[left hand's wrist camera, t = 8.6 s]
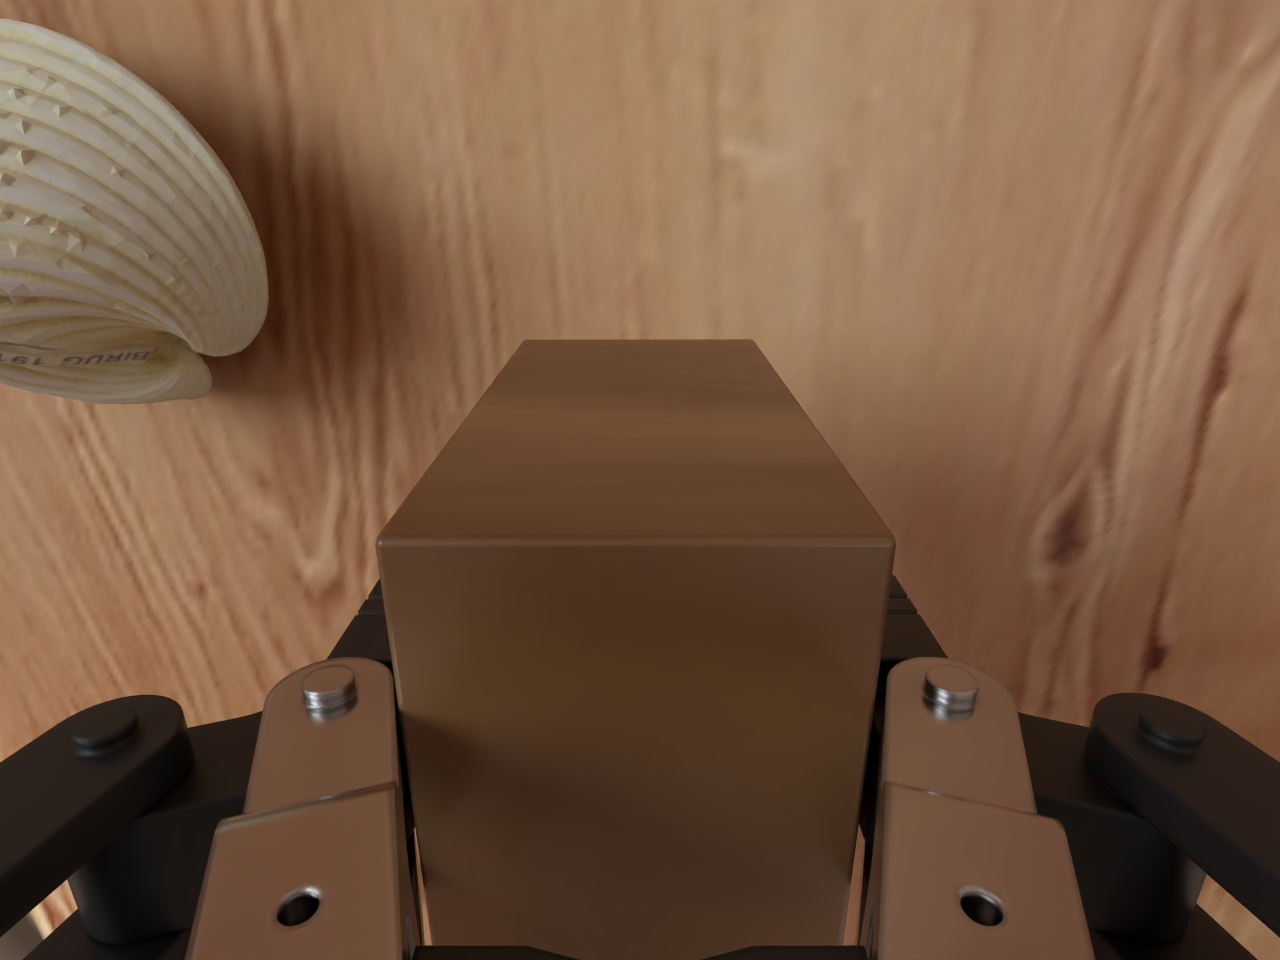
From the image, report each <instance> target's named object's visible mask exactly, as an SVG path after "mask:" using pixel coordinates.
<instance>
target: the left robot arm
mask: <svg viewBox="0 0 1280 960" xmlns="http://www.w3.org/2000/svg"><path fill="white" fill-rule="evenodd" d="M859 825H860V828H861V831H862V834H863V837H864V839H865V840H864V847H863V854H862V865H861V878H860V891H859V904H858V917H857V930H856V943H855V946H751V947H747V948H743V949H739V950H735V951H731V952H728V953H724V954H720V955H716V956H712V957H708V958H704V959H701V960H1257V959H1256V958H1255V957H1254V956H1253V955H1252V954H1251V953H1250V952H1249V951H1247V950H1246V949H1245V948H1244V947H1243V946H1242V945H1241V944H1240V943H1239V942H1238V941H1237V940H1236V939H1234V938H1233V937H1232V936H1231V935H1230V934H1229V933H1228V932H1227V931H1226V930H1225V929H1224V928H1223V927H1221V926H1220V925H1219V924H1218V923H1217V922H1216V921H1215V920H1214V919H1213V918H1212V917H1211V916H1210V915H1208V914H1207V913H1206V912H1205V911H1204V910H1203V909H1202V908H1201V907H1200V906H1199V905H1198V904H1197V903H1196V902H1197V899H1198V896H1199V894H1200V891H1201V888H1202V885H1203V882H1204V880H1205V877H1206V874H1208V875H1209V876H1210V877H1211V878H1212V879H1213V880H1215V881H1216V882H1217V883H1218V884H1219V885H1220V886H1221V887H1223V888H1224V889H1225V890H1226V891H1227V892H1228V893H1229V894H1231V895H1232V896H1233V897H1234V898H1235V899H1236V900H1237V901H1239V902H1240V903H1241V904H1242V905H1243V906H1244V907H1245V908H1247V909H1248V910H1249V911H1250V912H1251V913H1252V914H1253V915H1255V916H1256V917H1257V918H1258V919H1259V920H1260V921H1261V922H1263V923H1264V924H1265V925H1266V926H1267V927H1268V928H1270V929H1271V930H1272V931H1273V932H1274V933H1275V934H1276V935H1278V936H1279V937H1280V762H1278V761H1277V760H1275V759H1274V758H1272V757H1271V756H1269V755H1268V754H1266V753H1265V752H1263V751H1262V750H1260V749H1259V748H1257V747H1256V746H1254V745H1253V744H1251V743H1250V742H1248V741H1247V740H1245V739H1244V738H1242V737H1241V736H1239V735H1238V734H1236V733H1235V732H1233V731H1232V730H1230V729H1229V728H1227V727H1226V726H1224V725H1223V724H1221V723H1220V722H1218V721H1217V720H1215V719H1213V718H1212V717H1210V716H1209V715H1207V714H1205V713H1203V712H1201V711H1199V710H1197V709H1195V708H1192V707H1190V706H1187V705H1185V704H1182V703H1180V702H1177V701H1174V700H1171V699H1167V698H1163V697H1159V696H1154V695H1149V694H1141V693H1119V694H1113V695H1110V696H1107V697H1105V698H1103V699H1101V700H1100V701H1099V702H1098V703H1097V704H1096V707H1095V709H1094V712H1093V716H1092V720H1091V724H1090V728H1089V727H1084V726H1079V725H1074V724H1069V723H1064V722H1060V721H1055V720H1050V719H1045V718H1040V717H1035V716H1031V715H1027V714H1023V713H1020V712H1017V707H1016V703H1015V700H1014V697H1013V696H1012V694H1011V692H1010V691H1009V690H1008V689H1007V687H1006V686H1005V685H1004V684H1003V683H1001V682H1000V681H999V680H998V679H997V678H995V677H994V676H992V675H990V674H989V673H987V672H985V671H983V670H981V669H979V668H977V667H975V666H972V665H970V664H967V663H964V662H960V661H957V660H952V659H948V658H947V656H946V655H945V653H944V651H943V650H942V648H941V647H940V645H939V644H938V642H937V641H936V639H935V638H934V636H933V634H932V633H931V631H930V630H929V628H928V627H927V625H926V624H925V622H924V621H923V619H922V617H921V616H920V615H917V610H916V608H915V607H914V605H913V604H912V602H911V600H910V599H907V594H906V593H905V591H904V590H903V588H902V587H901V585H900V583H899V582H898V580H897V579H896V577H895V576H894V575H892V577H891V585H890V592H889V600H888V607H887V615H886V622H885V630H884V637H883V645H882V652H881V660H880V667H879V675H878V682H877V690H876V697H875V705H874V712H873V720H872V727H871V735H870V742H869V750H868V757H867V765H866V772H865V780H864V787H863V795H862V802H861V810H860V817H859ZM414 828H415V821H414V814H413V807H412V800H411V792H410V785H409V778H408V771H407V764H406V757H405V750H404V743H403V736H402V729H401V722H400V715H399V708H398V701H397V693H396V686H395V679H394V672H393V665H392V658H391V651H390V644H389V637H388V630H387V623H386V616H385V609H384V601H383V594H382V587H381V580H380V579H379V580H378V582H377V583H376V585H375V587H374V588H373V590H372V591H371V593H370V594H369V598H368V599H366V600H365V602H364V603H363V605H362V606H361V608H360V609H359V611H358V615H355V617H354V618H353V620H352V621H351V623H350V625H349V626H348V628H347V629H346V631H345V632H344V634H343V635H342V637H341V638H340V640H339V641H338V643H337V644H336V646H335V647H334V649H333V650H332V652H331V653H330V655H329V656H328V658H327V659H326V660H323V661H320V662H316V663H313V664H310V665H308V666H305V667H303V668H301V669H299V670H297V671H295V672H293V673H291V674H290V675H288V676H286V677H285V678H283V679H282V680H281V681H280V682H279V683H277V684H276V685H275V686H274V688H273V689H272V690H271V691H270V692H269V694H268V696H267V697H266V700H265V703H264V707H263V711H261V712H258V713H255V714H251V715H248V716H243V717H239V718H235V719H230V720H225V721H220V722H215V723H210V724H205V725H200V726H195V727H190V728H187V725H186V721H185V717H184V714H183V710H182V708H181V706H180V705H179V704H178V703H177V702H176V701H174V700H172V699H170V698H167V697H164V696H158V695H137V696H128V697H123V698H118V699H114V700H110V701H107V702H104V703H101V704H98V705H95V706H92V707H90V708H87V709H85V710H83V711H80V712H78V713H76V714H74V715H72V716H70V717H69V718H67V719H65V720H64V721H62V722H60V723H59V724H57V725H56V726H54V727H53V728H51V729H50V730H48V731H47V732H45V733H44V734H42V735H41V736H39V737H38V738H36V739H35V740H33V741H32V742H30V743H29V744H27V745H26V746H24V747H23V748H21V749H20V750H18V751H17V752H15V753H14V754H12V755H11V756H9V757H8V758H6V759H5V760H3V761H2V762H0V937H1V936H2V935H4V934H5V933H6V932H7V931H8V930H9V929H10V928H12V927H13V926H14V925H15V924H16V923H17V922H18V921H20V920H21V919H22V918H23V917H24V916H25V915H27V914H28V913H29V912H30V911H31V910H32V909H33V908H35V907H36V906H37V905H38V904H39V903H40V902H41V901H43V900H44V899H45V898H46V897H47V896H48V895H49V894H51V893H52V892H53V891H54V890H55V889H56V888H57V887H59V886H60V885H61V884H62V883H63V882H64V881H65V880H68V883H69V885H70V888H71V891H72V894H73V896H74V899H75V902H76V905H77V907H78V909H77V910H76V911H75V912H74V913H73V914H72V915H70V916H69V917H68V918H67V919H66V920H65V921H64V922H63V923H62V924H61V925H60V926H59V927H57V928H56V929H55V930H54V931H53V932H52V933H51V934H50V935H49V936H48V937H47V938H46V939H44V940H43V941H42V942H41V943H40V944H39V945H38V946H37V947H36V948H35V949H34V950H33V951H31V952H30V953H29V954H28V955H27V956H26V957H25V958H24V959H23V960H579V959H576V958H572V957H568V956H564V955H560V954H556V953H552V952H549V951H545V950H541V949H537V948H533V947H529V946H425V943H424V930H423V917H422V904H421V891H420V878H419V865H418V854H417V847H416V840H415V833H414Z"/></svg>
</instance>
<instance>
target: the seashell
mask: <svg viewBox="0 0 1280 960" xmlns="http://www.w3.org/2000/svg"><path fill="white" fill-rule="evenodd" d="M268 301H269V295H268V278H267V268H266V260H265V256H264V251H263V247H262V244H261V241H260V238H259V236H258V233H257V230H256V227H255V224H254V222H253V219H252V216H251V214H250V212H249V210H248V207H247V205H246V203H245V201H244V199H243V197H242V195H241V193H240V191H239V189H238V188H237V186H236V184H235V182H234V181H233V179H232V177H231V175H230V174H229V172H228V170H227V169H226V167H225V166H224V165H223V163H222V162H221V160H220V159H219V158H218V156H217V155H216V153H215V152H214V151H213V149H212V148H211V147H210V146H209V144H208V143H207V142H206V141H205V140H204V138H203V137H202V136H201V135H200V134H199V133H198V132H197V130H196V129H195V128H194V127H193V126H192V125H191V124H190V122H189V121H188V120H187V119H186V118H185V117H184V116H183V115H182V114H181V113H180V112H179V111H178V110H177V109H176V108H175V107H174V106H173V105H172V104H171V103H170V102H169V101H168V100H167V99H165V98H164V97H163V96H162V95H161V94H160V93H158V92H157V91H156V90H155V89H154V88H152V87H151V86H150V85H149V84H148V83H146V82H145V81H144V80H143V79H141V78H140V77H139V76H137V75H136V74H134V73H133V72H131V71H130V70H128V69H127V68H125V67H124V66H122V65H121V64H119V63H118V62H116V61H115V60H114V59H112V58H110V57H108V56H106V55H105V54H103V53H101V52H99V51H97V50H95V49H93V48H91V47H89V46H87V45H85V44H83V43H81V42H79V41H77V40H75V39H72V38H70V37H68V36H65V35H63V34H61V33H58V32H55V31H53V30H50V29H47V28H44V27H41V26H39V25H34V24H29V23H24V22H20V21H16V20H12V19H0V383H1V384H5V385H10V386H14V387H17V388H21V389H25V390H29V391H32V392H36V393H42V394H48V395H54V396H60V397H65V398H71V399H76V400H81V401H85V402H90V403H101V404H139V403H154V402H164V401H170V400H178V399H195V398H199V397H203V396H205V395H206V394H207V393H208V392H209V390H210V389H211V387H212V380H213V378H212V376H211V373H210V370H209V368H208V365H207V364H206V362H205V361H204V360H203V358H202V357H201V356H200V354H199V353H201V354H205V355H209V356H213V357H217V356H229V355H232V354H234V353H237V352H240V351H242V350H243V349H244V348H246V347H247V346H248V345H249V344H250V343H251V342H252V341H253V339H254V338H255V337H256V336H257V334H258V333H259V331H260V329H261V327H262V326H263V324H264V321H265V318H266V315H267V308H268Z"/></svg>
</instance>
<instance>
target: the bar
mask: <svg viewBox="0 0 1280 960" xmlns="http://www.w3.org/2000/svg"><path fill="white" fill-rule="evenodd" d="M375 545H376V552H377V559H378V566H379V573H380V580H381V587H382V594H383V601H384V609H385V616H386V623H387V630H388V637H389V644H390V651H391V658H392V665H393V672H394V679H395V686H396V693H397V701H398V708H399V715H400V722H401V729H402V736H403V743H404V750H405V757H406V764H407V771H408V778H409V785H410V792H411V800H412V807H413V814H414V821H415V828H416V835H417V842H418V849H419V856H420V863H421V870H422V877H423V884H424V892H425V899H426V906H427V913H428V920H429V927H430V934H431V941H432V946H529V947H533V948H537V949H541V950H545V951H549V952H552V953H556V954H560V955H564V956H568V957H572V958H576V959H579V960H701V959H704V958H708V957H712V956H716V955H720V954H724V953H728V952H731V951H735V950H739V949H743V948H747V947H751V946H842V945H843V938H844V930H845V923H846V915H847V907H848V900H849V892H850V885H851V877H852V870H853V862H854V855H855V847H856V840H857V832H858V825H859V817H860V810H861V802H862V795H863V787H864V780H865V772H866V765H867V757H868V750H869V742H870V735H871V727H872V720H873V712H874V705H875V697H876V690H877V682H878V675H879V667H880V660H881V652H882V645H883V637H884V630H885V622H886V615H887V607H888V600H889V592H890V585H891V577H892V570H893V562H894V555H895V547H896V541H895V538H894V536H893V535H892V533H891V532H890V530H889V529H888V528H887V526H886V525H885V523H884V522H883V521H882V519H881V518H880V516H879V515H878V514H877V512H876V511H875V509H874V508H873V507H872V505H871V504H870V502H869V501H868V500H867V498H866V497H865V495H864V494H863V493H862V491H861V490H860V488H859V487H858V486H857V484H856V483H855V481H854V480H853V479H852V477H851V476H850V475H849V473H848V472H847V470H846V469H845V468H844V466H843V465H842V463H841V462H840V461H839V459H838V458H837V456H836V455H835V454H834V452H833V451H832V449H831V448H830V447H829V445H828V444H827V442H826V441H825V440H824V438H823V437H822V435H821V434H820V433H819V431H818V430H817V428H816V427H815V426H814V424H813V423H812V421H811V420H810V419H809V417H808V416H807V415H806V413H805V412H804V410H803V409H802V408H801V406H800V405H799V403H798V402H797V401H796V399H795V398H794V396H793V395H792V394H791V392H790V391H789V389H788V388H787V387H786V385H785V384H784V382H783V381H782V380H781V378H780V377H779V375H778V374H777V373H776V371H775V370H774V368H773V367H772V366H771V364H770V363H769V361H768V360H767V359H766V357H765V356H764V355H763V353H762V352H761V350H760V349H759V348H758V346H757V345H756V343H755V342H754V341H753V340H525V341H523V342H522V344H521V345H520V346H519V348H518V349H517V350H516V352H515V353H514V354H513V356H512V357H511V358H510V360H509V361H508V362H507V364H506V365H505V366H504V368H503V369H502V370H501V372H500V373H499V375H498V376H497V377H496V379H495V380H494V381H493V383H492V384H491V385H490V387H489V388H488V389H487V391H486V392H485V393H484V395H483V396H482V397H481V399H480V400H479V401H478V403H477V404H476V405H475V407H474V408H473V409H472V411H471V412H470V413H469V415H468V416H467V417H466V419H465V420H464V421H463V423H462V424H461V426H460V427H459V428H458V430H457V431H456V432H455V434H454V435H453V436H452V438H451V439H450V440H449V442H448V443H447V444H446V446H445V447H444V448H443V450H442V451H441V452H440V454H439V455H438V456H437V458H436V459H435V460H434V462H433V463H432V464H431V466H430V467H429V468H428V470H427V471H426V472H425V474H424V475H423V476H422V478H421V479H420V481H419V482H418V483H417V485H416V486H415V487H414V489H413V490H412V491H411V493H410V494H409V495H408V497H407V498H406V499H405V501H404V502H403V503H402V505H401V506H400V507H399V509H398V510H397V511H396V513H395V514H394V515H393V517H392V518H391V519H390V521H389V522H388V523H387V525H386V526H385V527H384V529H383V530H382V531H381V533H380V534H379V536H378V537H377V540H376V543H375Z"/></svg>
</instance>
